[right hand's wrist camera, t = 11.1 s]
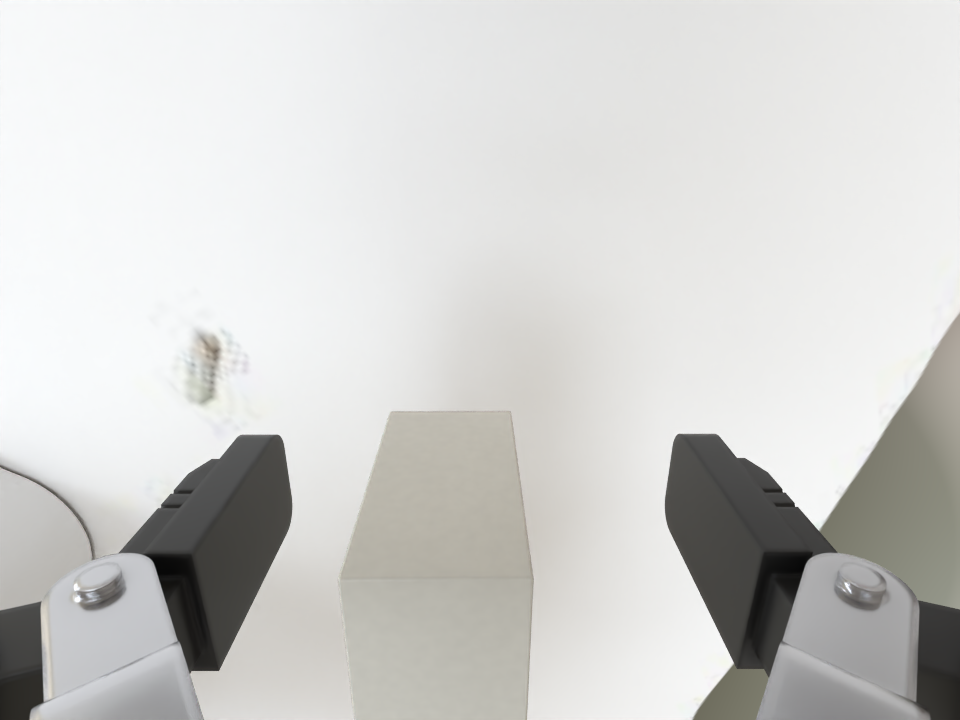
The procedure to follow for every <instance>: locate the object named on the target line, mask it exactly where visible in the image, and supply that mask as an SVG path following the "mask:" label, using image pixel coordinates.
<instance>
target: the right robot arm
mask: <svg viewBox="0 0 960 720" xmlns="http://www.w3.org/2000/svg"><path fill="white" fill-rule="evenodd" d="M665 514H666V520H667V525H668V528H669V530H670V533H671V535H672V537H673V539H674V541H675V543H676V545H677V547H678V549H679V551H680V553H681V555H682V557H683V559H684V561H685V563H686V565H687V567H688V569H689V572H690V574H691V576H692V578H693V580H694V582H695V584H696V586H697V588H698V590H699V592H700V594H701V596H702V598H703V600H704V602H705V604H706V606H707V608H708V610H709V613H710V615H711V617H712V619H713V621H714V623H715V625H716V627H717V629H718V631H719V633H720V635H721V637H722V639H723V641H724V643H725V645H726V647H727V649H728V651H729V654H730V656H731V658H732V660H733V662H734V664H735V666H736V668H737V669H764V670H765V671H766V673H767V675H768V677H769V680H768V683H767V686H766V690H765V693H764V696H763V699H762V703H761V706H760V709H759V712H758V715H757V719H756V720H960V610H959V609H955V608H950V607H945V606H941V605H936V604H932V603H927V602H923V601H918V600H917V598H916V596H915V594H914V593H913V591H912V590H911V589H910V588H909V587H908V586H907V585H906V584H905V583H904V582H903V581H902V580H901V579H900V578H898V577H897V576H895V575H894V574H893V573H891V572H890V571H888V570H886V569H885V568H883V567H881V566H879V565H877V564H875V563H873V562H870V561H868V560H865V559H862V558H859V557H856V556H852V555H847V554H840V553H837V552H836V550H835V549H834V548H833V547H832V546H831V545H830V543H829V542H828V541H827V540H826V539H825V538H824V537H823V535H822V534H821V533H820V532H819V531H818V530H817V528H816V527H815V526H814V525H813V524H812V523H811V522H810V520H809V519H808V518H807V517H806V516H805V515H804V514H803V512H802V511H801V510H800V509H799V508H798V507H795V503H794V502H793V501H792V500H791V499H790V497H789V496H788V495H787V494H786V493H783V492H782V488H781V487H780V486H779V485H778V484H777V483H776V481H775V480H774V479H773V478H772V477H771V476H770V474H769V473H768V472H766V471H765V470H763V469H761V468H760V467H758V466H757V465H755V464H753V463H752V462H750V461H749V460H747V459H745V458H736V456H735V455H734V454H733V453H732V451H731V450H730V449H729V448H728V446H727V445H726V444H725V443H724V442H723V440H722V439H721V438H720V437H719V436H718V435H717V434H678V435H677V436H676V437H675V439H674V443H673V448H672V455H671V462H670V469H669V476H668V483H667V490H666V496H665ZM291 517H292V496H291V489H290V483H289V476H288V469H287V462H286V455H285V448H284V443H283V440H282V438H281V437H280V436H279V435H240V436H238V437H237V438H236V440H235V441H234V442H233V443H232V445H231V446H230V447H229V448H228V449H227V451H226V452H225V453H224V454H223V455H222V457H221V458H220V459H211V460H210V461H208V462H206V463H205V464H203V465H202V466H200V467H198V468H197V469H195V470H194V471H192V472H190V473H189V474H188V475H187V476H186V477H185V478H184V479H183V481H182V482H181V483H180V484H179V485H178V486H177V487H176V489H175V490H174V494H170V495H169V497H168V498H167V499H166V500H165V501H164V502H163V503H162V504H161V508H158V509H157V510H156V511H155V512H154V514H153V515H152V516H151V517H150V518H149V519H148V520H147V522H146V523H145V524H144V525H143V526H142V527H141V528H140V530H139V531H138V532H137V533H136V534H135V535H134V536H133V537H132V539H131V540H130V541H129V542H128V543H127V544H126V545H125V547H124V548H123V549H122V550H121V551H120V552H119V553H118V554H113V555H108V556H104V557H101V558H98V559H95V560H92V561H90V562H87V563H85V564H83V565H81V566H79V567H77V568H75V569H74V570H72V571H70V572H69V573H67V574H66V575H64V576H63V577H62V578H60V579H59V580H58V581H57V582H56V583H55V584H54V585H53V586H52V587H51V588H50V589H49V590H48V591H47V593H46V594H45V596H44V598H43V600H42V601H40V602H36V603H32V604H27V605H23V606H18V607H14V608H9V609H5V610H0V720H204V719H203V715H202V712H201V709H200V706H199V703H198V699H197V696H196V693H195V690H194V686H193V683H192V680H191V677H190V673H191V671H219V670H220V668H221V666H222V664H223V661H224V659H225V657H226V655H227V653H228V651H229V649H230V647H231V645H232V643H233V641H234V639H235V637H236V635H237V633H238V631H239V629H240V627H241V625H242V623H243V621H244V619H245V617H246V615H247V613H248V611H249V609H250V607H251V605H252V603H253V601H254V599H255V597H256V595H257V593H258V591H259V589H260V587H261V585H262V582H263V580H264V578H265V576H266V574H267V572H268V570H269V568H270V566H271V564H272V562H273V560H274V558H275V556H276V554H277V552H278V550H279V548H280V546H281V544H282V542H283V540H284V538H285V536H286V534H287V532H288V529H289V526H290V522H291Z"/></svg>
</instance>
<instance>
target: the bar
mask: <svg viewBox="0 0 960 720" xmlns="http://www.w3.org/2000/svg"><path fill="white" fill-rule="evenodd" d="M338 585H339V594H340V603H341V611H342V620H343V629H344V637H345V646H346V654H347V663H348V672H349V680H350V689H351V698H352V706H353V715H354V720H527V705H528V684H529V663H530V641H531V620H532V599H533V571H532V564H531V556H530V549H529V542H528V534H527V527H526V519H525V512H524V505H523V497H522V490H521V482H520V475H519V468H518V460H517V453H516V445H515V438H514V431H513V423H512V416H511V412H510V411H392V412H390V413H389V417H388V420H387V423H386V426H385V429H384V433H383V436H382V439H381V442H380V445H379V449H378V452H377V455H376V458H375V462H374V465H373V468H372V471H371V474H370V478H369V481H368V484H367V487H366V490H365V494H364V497H363V500H362V503H361V506H360V510H359V513H358V516H357V519H356V523H355V526H354V529H353V532H352V535H351V539H350V542H349V545H348V548H347V551H346V555H345V558H344V561H343V564H342V568H341V571H340V574H339V577H338Z"/></svg>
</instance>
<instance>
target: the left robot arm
mask: <svg viewBox="0 0 960 720" xmlns="http://www.w3.org/2000/svg"><path fill="white" fill-rule="evenodd" d="M90 561H92V551H91V546H90V542H89V539H88V536H87V534H86V532H85V530H84V528H83V526H82V525H81V523H80V521H79V520H78V518H77V517H76V516H75V515H74V513H73V512H72V511H71V510H70V509H69V508H68V507H67V506H66V505H65V504H64V503H63V502H62V501H61V500H60V499H59V498H58V497H56V496H55V495H54V494H52V493H51V492H50V491H48V490H47V489H45V488H44V487H42V486H40V485H39V484H37V483H35V482H33V481H31V480H29V479H27V478H25V477H22V476H20V475H17V474H15V473H12V472H10V471H7V470H5V469H3V468H1V467H0V610H5V609H9V608H14V607H18V606H23V605H27V604H32V603H36V602H40V601H42V600H43V598H44V596H45V594H46V593H47V591H48V590H49V589H50V588H51V587H52V586H53V585H54V584H55V583H56V582H57V581H58V580H59V579H60V578H62V577H63V576H64V575H66V574H67V573H69V572H70V571H72V570H74V569H75V568H77V567H79V566H81V565H83V564H85V563H87V562H90Z"/></svg>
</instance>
